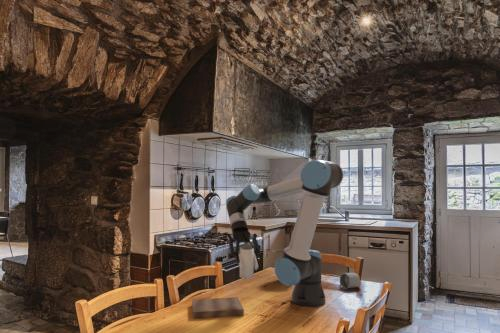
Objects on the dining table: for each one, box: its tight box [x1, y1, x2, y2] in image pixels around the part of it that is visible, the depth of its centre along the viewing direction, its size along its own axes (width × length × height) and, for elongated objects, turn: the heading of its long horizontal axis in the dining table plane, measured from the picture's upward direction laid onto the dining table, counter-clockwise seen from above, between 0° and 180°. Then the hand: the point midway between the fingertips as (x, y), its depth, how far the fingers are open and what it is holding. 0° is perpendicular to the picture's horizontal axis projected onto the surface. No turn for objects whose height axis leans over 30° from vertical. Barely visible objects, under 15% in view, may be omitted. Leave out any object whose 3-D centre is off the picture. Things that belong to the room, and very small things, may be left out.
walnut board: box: [191, 296, 245, 319], centre depth 149 cm, size 20×16×2 cm
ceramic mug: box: [339, 272, 361, 290], centre depth 186 cm, size 11×8×8 cm
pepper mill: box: [239, 242, 255, 280], centre depth 154 cm, size 6×6×15 cm
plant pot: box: [272, 248, 285, 265], centre depth 197 cm, size 15×15×16 cm
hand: (249, 268), depth 151 cm, fingers closed on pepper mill, 6 cm apart
